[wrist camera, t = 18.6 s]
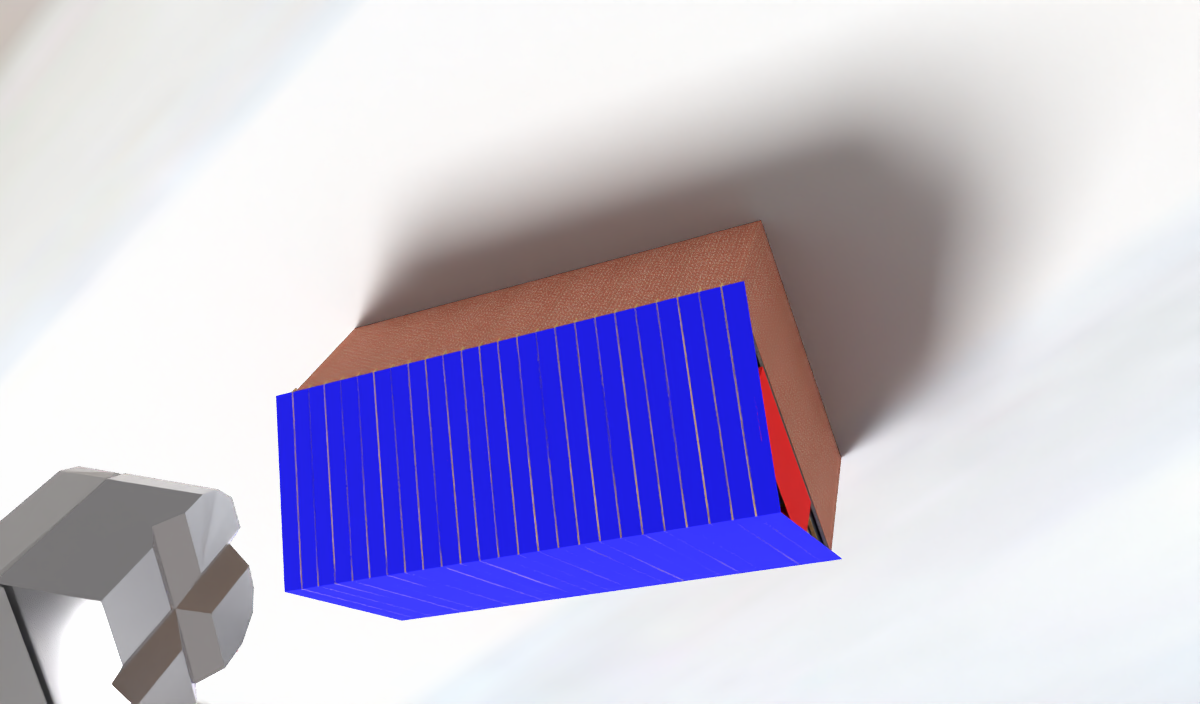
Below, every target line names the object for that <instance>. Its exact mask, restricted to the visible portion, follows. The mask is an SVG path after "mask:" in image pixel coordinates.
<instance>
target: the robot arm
mask: <svg viewBox="0 0 1200 704" xmlns="http://www.w3.org/2000/svg"><path fill="white" fill-rule="evenodd" d="M239 528H240V525H239V521H238V517H237V514H236V510H235V507H234V503H233V500H232V497H230V496H228V495H227V494H225V493H223V492H221V491H220V490H218V489H213V488H207V487H201V486H195V485H189V484H184V483H178V482H172V481H166V480H160V479H155V478H149V477H143V476H137V475H131V474H126V473H125V474H119V473H114V472H108V471H102V470H97V469H91V468H85V467H79V466H78V467H74V468H70V469H66V470H61V471H59V472H58V473H56V474H55V475H54V476H53V477H52V478H51V479H49V480H48V481H47V482H46V483H45V484H44V485H42V486H41V487H40V488H39V489H38V490H36V491H35V492H34V493H33V494H32V495H31V496H29V497H28V498H27V499H26V500H25V501H24V502H22V503H21V504H20V505H19V506H18V507H16V508H15V509H14V510H13V511H12V512H11V513H9V514H8V515H7V516H6V517H5V518H4V519H2V520H1V521H0V704H197V697H196V683H197V682H199V681H201V680H203V679H205V678H207V677H208V676H210V675H212V674H214V673H216V672H218V671H220V670H222V669H223V668H225V667H226V665H227V664H228V663H229V661H230V660H231V658H232V657H233V656H234V654H235V653H236V651H237V650H238V648H239V647H240V646H241V644H242V642H243V639H244V636H245V633H246V630H247V628H248V625H249V622H250V619H251V616H252V613H253V592H254V587H253V582H252V577H251V573H250V568H249V565H248V564H247V563H246V562H245V561H244V560H243V559H242V558H241V556H240V555H239V554H238V553H237V552H236V551H235V550H234V549H233V547H232V546H231V545H230V543H231V541H232V539H233V538H234V536H235V535H236V533H237V532H238V530H239Z"/></svg>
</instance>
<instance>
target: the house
mask: <svg viewBox="0 0 1200 704" xmlns="http://www.w3.org/2000/svg"><path fill="white" fill-rule="evenodd" d="M276 403H277V426H278V448H279V471H280V494H281V516H282V539H283V562H284V584H285V592H288V593H292V594H296V595H300V596H304V597H308V598H313V599H317V600H321V601H325V602H329V603H333V604H337V605H341V606H345V607H349V608H353V609H357V610H361V611H366V612H370V613H374V614H378V615H382V616H386V617H390V618H394V619H398V620H409V619H416V618H423V617H431V616H438V615H445V614H452V613H459V612H466V611H473V610H481V609H488V608H495V607H502V606H509V605H516V604H523V603H531V602H538V601H545V600H552V599H559V598H566V597H573V596H581V595H588V594H595V593H602V592H609V591H616V590H623V589H631V588H638V587H645V586H652V585H659V584H666V583H674V582H681V581H688V580H695V579H702V578H709V577H716V576H724V575H731V574H738V573H745V572H752V571H759V570H766V569H774V568H781V567H788V566H795V565H802V564H809V563H816V562H824V561H831V560H838V559H842V558H840V557H839V556H838V555H836V554H835V553H834V552H832V551H831V548H832V539H833V530H834V520H835V511H836V502H837V493H838V483H839V474H840V465H841V456H840V453H839V450H838V447H837V444H836V441H835V438H834V436H833V433H832V430H831V427H830V424H829V421H828V418H827V415H826V412H825V409H824V406H823V403H822V400H821V397H820V394H819V391H818V388H817V385H816V382H815V379H814V376H813V373H812V370H811V367H810V364H809V361H808V358H807V355H806V352H805V349H804V346H803V344H802V341H801V338H800V335H799V332H798V329H797V326H796V323H795V320H794V317H793V314H792V311H791V308H790V305H789V302H788V299H787V296H786V293H785V290H784V287H783V284H782V281H781V278H780V275H779V272H778V269H777V266H776V263H775V260H774V257H773V255H772V252H771V249H770V246H769V243H768V240H767V237H766V234H765V231H764V228H763V225H762V222H761V220H760V221H756V222H753V223H749V224H745V225H741V226H738V227H734V228H730V229H726V230H723V231H719V232H715V233H711V234H708V235H704V236H700V237H696V238H693V239H689V240H685V241H681V242H678V243H674V244H670V245H666V246H663V247H659V248H655V249H651V250H648V251H644V252H640V253H636V254H633V255H629V256H625V257H621V258H618V259H614V260H610V261H606V262H603V263H599V264H595V265H591V266H588V267H584V268H580V269H576V270H573V271H569V272H565V273H561V274H558V275H554V276H550V277H546V278H543V279H539V280H535V281H531V282H528V283H524V284H520V285H516V286H512V287H509V288H505V289H501V290H497V291H494V292H490V293H486V294H482V295H479V296H475V297H471V298H467V299H464V300H460V301H456V302H452V303H449V304H445V305H441V306H437V307H434V308H430V309H426V310H422V311H419V312H415V313H411V314H407V315H404V316H400V317H396V318H392V319H389V320H385V321H381V322H377V323H374V324H370V325H366V326H362V327H359V328H355V329H354V330H353V331H352V332H351V333H350V334H349V335H348V337H347V338H346V339H345V340H344V341H343V342H342V343H341V344H340V345H339V346H338V347H337V348H336V349H335V350H334V351H333V352H332V354H331V355H330V356H329V357H328V358H327V359H326V360H325V361H324V362H323V363H322V364H321V365H320V366H319V367H318V368H317V369H316V371H315V372H314V373H313V374H312V375H311V376H310V377H309V378H308V379H307V380H306V381H305V382H304V383H303V384H302V385H301V386H300V388H299V389H298V390H297V388H295V389H294V390H293V391H292V392H291V393H287V394H283V395H278V396H276Z"/></svg>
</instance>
